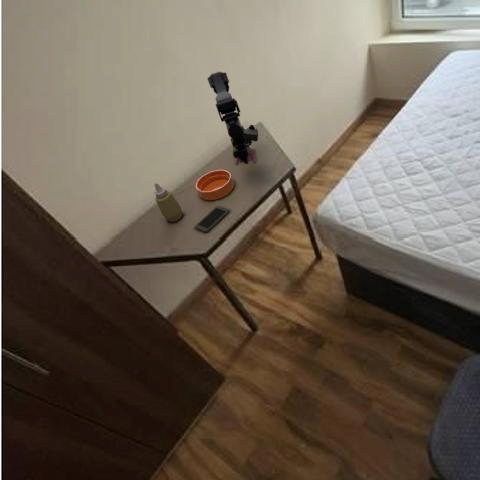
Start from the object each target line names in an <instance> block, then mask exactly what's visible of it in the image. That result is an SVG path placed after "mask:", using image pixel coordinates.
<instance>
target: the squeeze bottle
mask: <svg viewBox="0 0 480 480" xmlns="http://www.w3.org/2000/svg"><path fill="white" fill-rule="evenodd" d="M154 188H155V191H154V196H155V199H154V200H155V202H156V204H157V206H158V208H159V211H160V213H161V215H162V216H163V217H164V218H165V219H166V220H167V221H168V222H172V223H173V222H178V220H180V219H182V216H183V213H182V207H181V205H180V204H179V202H178V201H177V199H176V198H175V197H174V195H173V194H172V192H171V191H168V190H167V188H166V187H161V185H160V184H159V183H158V182H155V183H154Z"/></svg>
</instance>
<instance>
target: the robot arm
mask: <svg viewBox="0 0 480 480" xmlns="http://www.w3.org/2000/svg"><path fill="white" fill-rule="evenodd" d="M207 82H208V84H209V88H210V89H212V90H213V93H215V94H216V97H215V101H216V103H215V107H216V110H217V113H218V116H219V118H220V121H221V122H222V123H223V122H224V124H225V127H226V130H227V134H228V136H229V138H230V142H231V145H232V147H233V149H232V157H233V158H234V159H235V158H239V162H243V164H244V165H248V164H249V160H248V159H247V157H248V154H249V149H248V148H250V146H252V144H253V142H259V129H257V128H256V127H255V125H254V124H250V125H249V126H248V127H247V128H244V126H243V125H242V123H241V121H240V117H241V109H240V106H239V103H238V101H237V100H236V99H235V98H234V97H232V94H231V93H230V92H229V91H230V85H229V83H230V80H229V78H228V74H227V72H222V71H215V72H213V73H211V74H210V75H209V76H208V77H207ZM241 160H242V161H241Z"/></svg>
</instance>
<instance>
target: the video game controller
mask: <svg viewBox="0 0 480 480" xmlns="http://www.w3.org/2000/svg"><path fill="white" fill-rule="evenodd" d="M248 149H249V154H248V157H247V159H248V162H252V161H253V164H257V160H258V157H257V154H258V153H257V150H256V149H255V148H252V147H249V148H248ZM240 162H243V161H242V160H241V161H240V159H239V158H234V164H235V166H236V167H237V166H239V164H240Z"/></svg>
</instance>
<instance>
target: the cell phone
mask: <svg viewBox="0 0 480 480" xmlns="http://www.w3.org/2000/svg"><path fill="white" fill-rule="evenodd" d="M229 213H230V210H229V209H227V208H224V207H221V206H215V208H213V209H212V210H211V211H210V212H209V213H208V214H206V215H205V216H204V217H203V218H202V219H201V220H200V221H199V222H198V223H197V224H196V225H194V228H195V229H196V230H199V231H202V232H204V233H209V232H210V230H212V229H213V228H214V227H215V226H216V225H218V224H219V222H220V221H221V220H223V219H224V218H225V217H226V216H227V215H228V214H229Z"/></svg>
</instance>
